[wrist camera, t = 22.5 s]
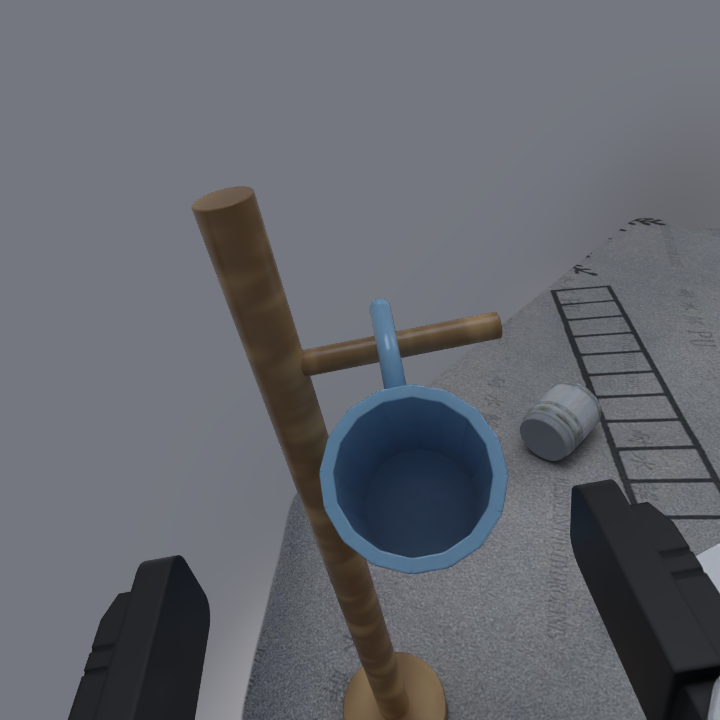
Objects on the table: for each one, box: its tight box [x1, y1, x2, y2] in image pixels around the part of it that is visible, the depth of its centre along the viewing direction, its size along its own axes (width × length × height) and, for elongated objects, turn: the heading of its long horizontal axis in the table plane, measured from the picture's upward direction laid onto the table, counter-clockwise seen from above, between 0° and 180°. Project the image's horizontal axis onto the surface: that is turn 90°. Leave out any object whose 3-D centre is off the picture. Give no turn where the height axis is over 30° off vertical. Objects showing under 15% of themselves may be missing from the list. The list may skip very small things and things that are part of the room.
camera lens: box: [520, 382, 601, 461], centre depth 63 cm, size 6×6×8 cm
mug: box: [319, 298, 508, 574], centre depth 25 cm, size 11×6×10 cm
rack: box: [192, 187, 502, 720], centre depth 33 cm, size 14×8×42 cm, turn 93°
